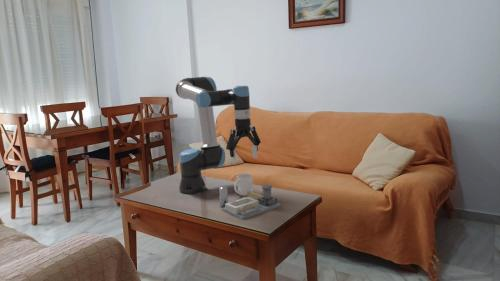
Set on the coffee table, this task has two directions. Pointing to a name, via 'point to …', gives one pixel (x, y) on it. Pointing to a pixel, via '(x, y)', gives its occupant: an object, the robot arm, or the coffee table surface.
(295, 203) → the coffee table surface
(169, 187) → the coffee table surface
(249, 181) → the mug
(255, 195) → the ring lever
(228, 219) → the coffee table surface
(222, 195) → the pin
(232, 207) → the plate
